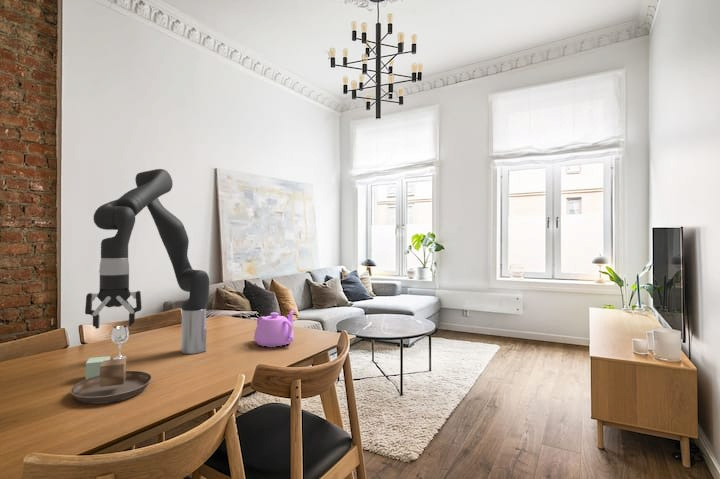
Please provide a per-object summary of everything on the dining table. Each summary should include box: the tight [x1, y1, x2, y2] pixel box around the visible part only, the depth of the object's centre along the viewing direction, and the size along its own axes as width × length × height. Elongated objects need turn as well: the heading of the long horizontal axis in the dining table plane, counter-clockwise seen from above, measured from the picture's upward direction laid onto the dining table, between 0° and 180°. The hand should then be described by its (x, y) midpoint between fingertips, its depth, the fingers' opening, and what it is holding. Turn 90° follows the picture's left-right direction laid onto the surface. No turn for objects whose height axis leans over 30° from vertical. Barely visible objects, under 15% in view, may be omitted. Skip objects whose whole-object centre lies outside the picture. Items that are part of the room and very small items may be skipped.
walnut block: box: [100, 358, 127, 387], centre depth 120 cm, size 6×6×6 cm
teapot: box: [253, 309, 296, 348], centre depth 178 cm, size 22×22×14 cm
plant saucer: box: [70, 370, 153, 405], centre depth 120 cm, size 21×21×3 cm
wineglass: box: [110, 325, 130, 360], centre depth 152 cm, size 6×6×12 cm
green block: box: [85, 355, 111, 380], centre depth 132 cm, size 6×6×6 cm
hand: (114, 326), depth 120 cm, fingers open, 8 cm apart
